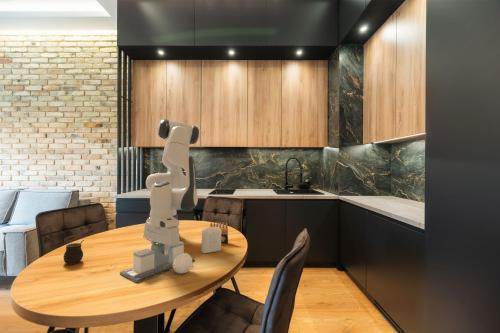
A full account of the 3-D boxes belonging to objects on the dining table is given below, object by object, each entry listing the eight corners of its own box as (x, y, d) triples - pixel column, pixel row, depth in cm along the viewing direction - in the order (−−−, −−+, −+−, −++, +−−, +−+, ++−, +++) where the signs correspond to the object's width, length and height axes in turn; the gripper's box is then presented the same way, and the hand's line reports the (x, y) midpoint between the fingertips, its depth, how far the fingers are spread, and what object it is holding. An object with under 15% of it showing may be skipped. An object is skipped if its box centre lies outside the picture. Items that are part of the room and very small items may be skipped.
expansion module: (150, 264, 107) (151, 244, 107) (163, 260, 112) (163, 241, 112) (156, 266, 104) (156, 246, 104) (168, 262, 109) (169, 243, 109)
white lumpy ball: (170, 270, 104) (171, 252, 104) (188, 267, 108) (189, 249, 108) (175, 278, 97) (175, 258, 97) (194, 274, 101) (194, 255, 101)
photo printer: (218, 248, 134) (218, 225, 134) (222, 250, 130) (222, 226, 130) (200, 251, 128) (200, 227, 128) (203, 254, 124) (204, 229, 124)
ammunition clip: (209, 242, 143) (209, 221, 143) (209, 241, 145) (210, 221, 145) (227, 243, 142) (227, 222, 142) (228, 242, 144) (228, 221, 144)
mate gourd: (65, 260, 113) (66, 238, 113) (85, 258, 116) (86, 237, 116) (60, 266, 107) (61, 243, 107) (81, 264, 110) (82, 241, 110)
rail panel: (120, 274, 100) (120, 269, 100) (177, 255, 123) (177, 251, 123) (136, 283, 93) (136, 277, 93) (194, 260, 116) (194, 256, 116)
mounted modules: (133, 270, 101) (133, 252, 101) (176, 255, 118) (176, 240, 118) (140, 273, 98) (140, 255, 98) (183, 257, 115) (183, 242, 115)
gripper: (140, 217, 111) (139, 249, 111) (169, 224, 100) (168, 259, 100) (153, 215, 117) (152, 245, 117) (182, 222, 105) (181, 255, 105)
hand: (160, 252), depth 108 cm, fingers open, 6 cm apart
